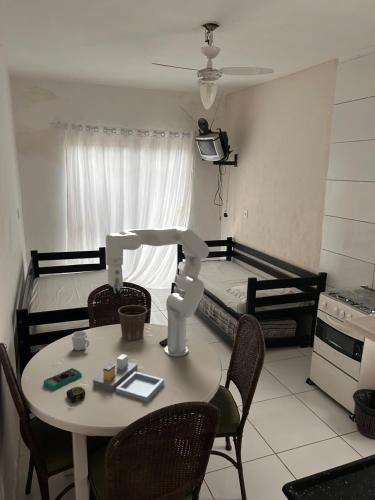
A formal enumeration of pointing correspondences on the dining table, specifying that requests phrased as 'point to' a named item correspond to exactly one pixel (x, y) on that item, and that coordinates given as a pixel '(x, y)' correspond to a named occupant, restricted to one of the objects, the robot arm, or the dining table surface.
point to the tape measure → (76, 394)
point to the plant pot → (132, 321)
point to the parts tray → (140, 386)
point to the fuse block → (118, 379)
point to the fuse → (122, 362)
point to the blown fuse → (109, 372)
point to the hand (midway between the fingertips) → (114, 297)
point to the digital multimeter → (62, 379)
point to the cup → (80, 340)
